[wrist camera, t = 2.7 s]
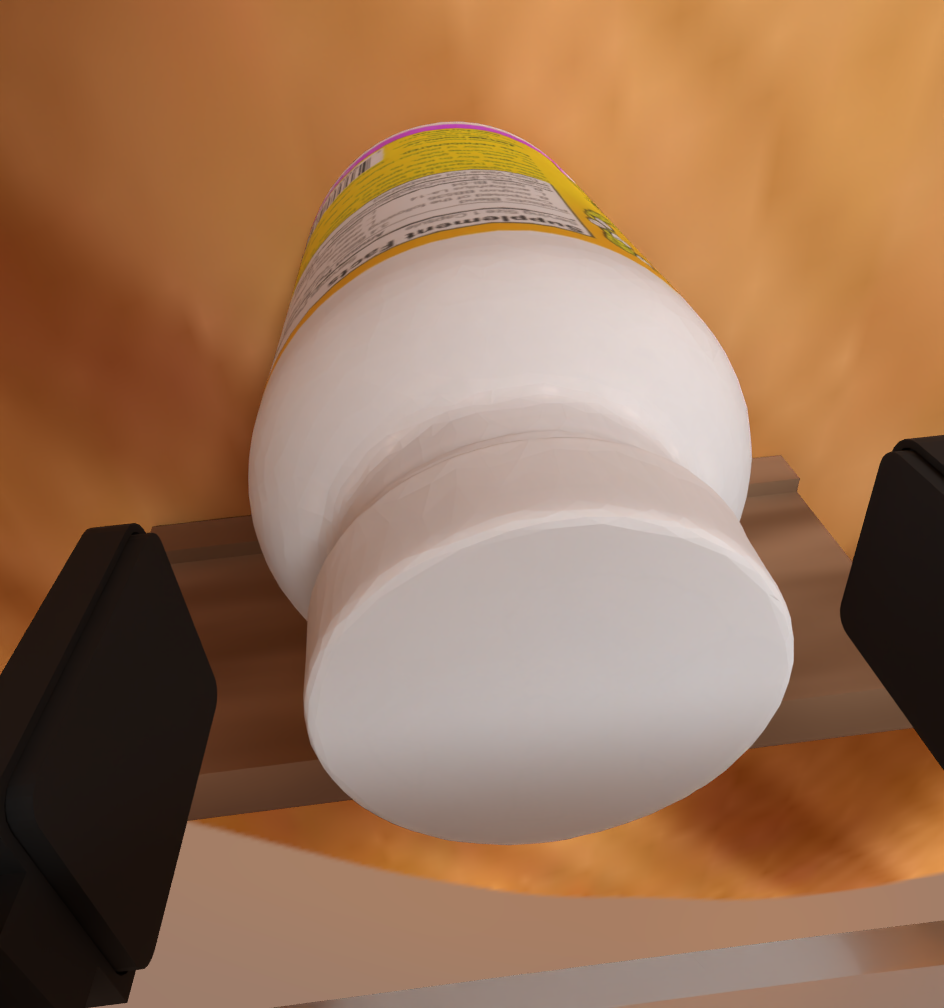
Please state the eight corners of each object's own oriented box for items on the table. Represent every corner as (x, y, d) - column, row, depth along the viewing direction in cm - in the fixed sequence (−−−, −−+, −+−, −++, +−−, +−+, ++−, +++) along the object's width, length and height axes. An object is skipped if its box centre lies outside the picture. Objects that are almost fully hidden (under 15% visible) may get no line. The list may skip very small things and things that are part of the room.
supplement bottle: (588, 384, 19) (822, 859, 9) (336, 411, 19) (281, 930, 9) (596, 96, 15) (1022, 355, 5) (279, 126, 15) (55, 461, 5)
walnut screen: (152, 526, 21) (48, 778, 14) (781, 455, 21) (952, 665, 15) (178, 589, 22) (94, 845, 16) (767, 520, 23) (918, 739, 16)
